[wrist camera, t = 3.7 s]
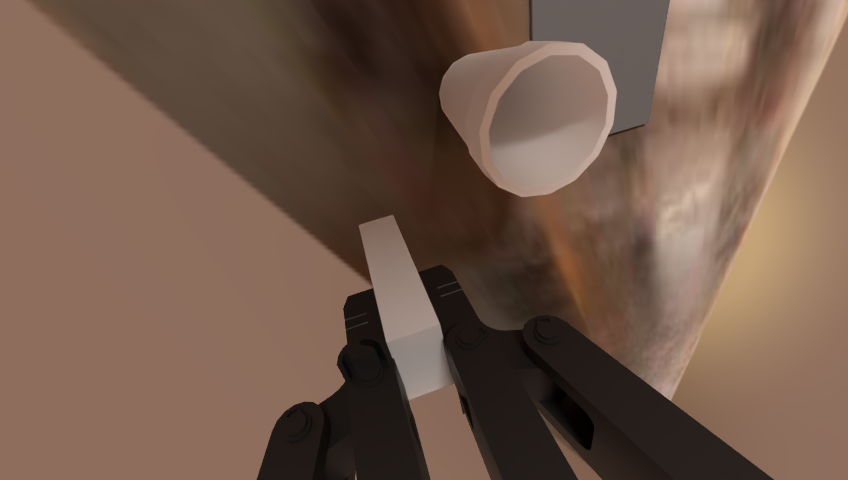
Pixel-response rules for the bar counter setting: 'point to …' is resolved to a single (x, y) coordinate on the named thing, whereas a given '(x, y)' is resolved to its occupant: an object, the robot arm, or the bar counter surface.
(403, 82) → the bar counter surface
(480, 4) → the bar counter surface
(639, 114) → the mat
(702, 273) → the bar counter surface
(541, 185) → the foam cup
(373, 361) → the robot arm
